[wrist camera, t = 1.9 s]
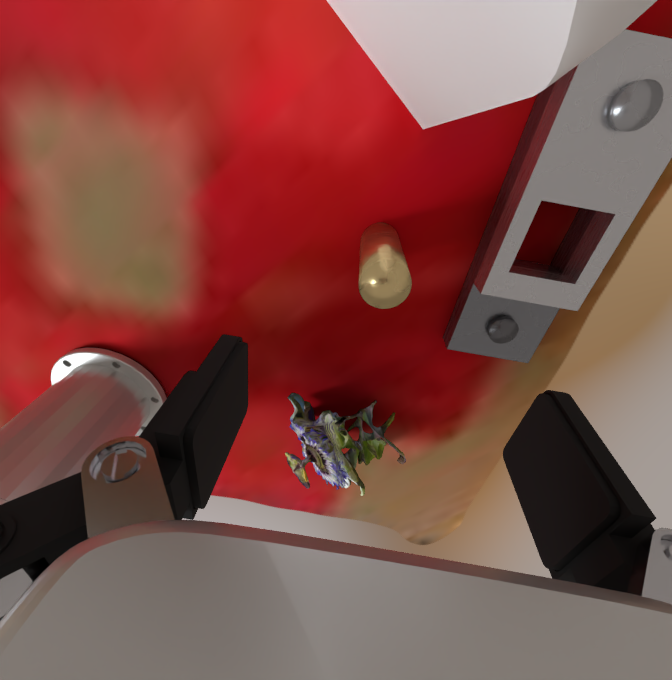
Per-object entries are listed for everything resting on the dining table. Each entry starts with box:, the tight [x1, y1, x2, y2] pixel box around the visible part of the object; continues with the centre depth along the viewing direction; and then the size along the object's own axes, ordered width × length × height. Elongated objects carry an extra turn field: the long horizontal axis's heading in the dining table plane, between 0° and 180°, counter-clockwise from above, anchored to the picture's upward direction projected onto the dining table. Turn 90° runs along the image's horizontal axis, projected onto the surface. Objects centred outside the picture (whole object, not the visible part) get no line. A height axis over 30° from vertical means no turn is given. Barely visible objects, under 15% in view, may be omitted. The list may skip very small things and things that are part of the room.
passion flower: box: [285, 393, 406, 496], centre depth 36 cm, size 11×11×12 cm
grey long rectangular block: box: [443, 29, 672, 363], centre depth 25 cm, size 22×8×5 cm, turn 171°
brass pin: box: [359, 223, 412, 309], centre depth 25 cm, size 3×3×9 cm
